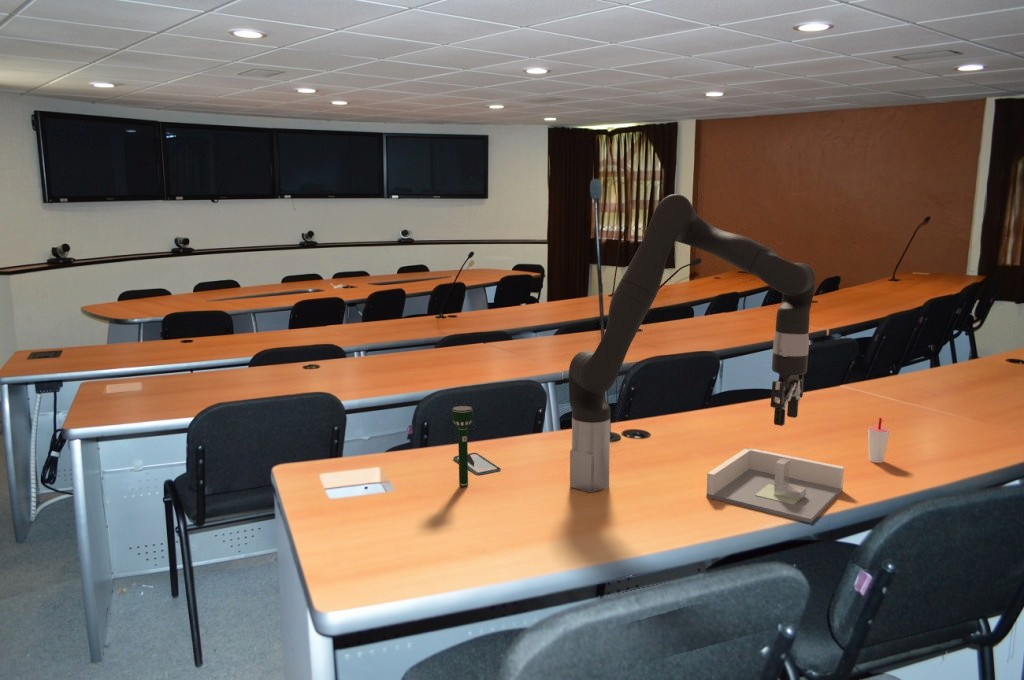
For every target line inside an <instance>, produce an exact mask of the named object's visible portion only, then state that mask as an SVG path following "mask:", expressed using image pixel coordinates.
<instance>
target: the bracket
mask: <svg viewBox="0 0 1024 680" xmlns="http://www.w3.org/2000/svg"><path fill="white" fill-rule="evenodd" d="M789 472H790V460H789V459H784V458H781V459H780V460H778V461H777V462H776V466H775V483H774V495H775V496H779V497H784V498H788V499H792V500H796V501H801V500H802V499H803V498H804V497H805V496H806V488H804V487H800V486H795V485H791V484H789Z"/></svg>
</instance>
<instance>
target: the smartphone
mask: <svg viewBox="0 0 1024 680" xmlns="http://www.w3.org/2000/svg"><path fill="white" fill-rule="evenodd" d="M453 460H454V461H455V462H456V463H457V462H458V463H457V464H459V455H455V456H453ZM501 470H502V468H501V467H499V466H497V465H496V464H495V463H493V462H492V461H490V460H488V459H487V458H486V457H484V456H483V455H481V454H479V452H470V453H468V471H470V472H471V473H473V474H474V475H476V476H483V475H484V476H485V475H487V474H493V473H498V472H501Z"/></svg>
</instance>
